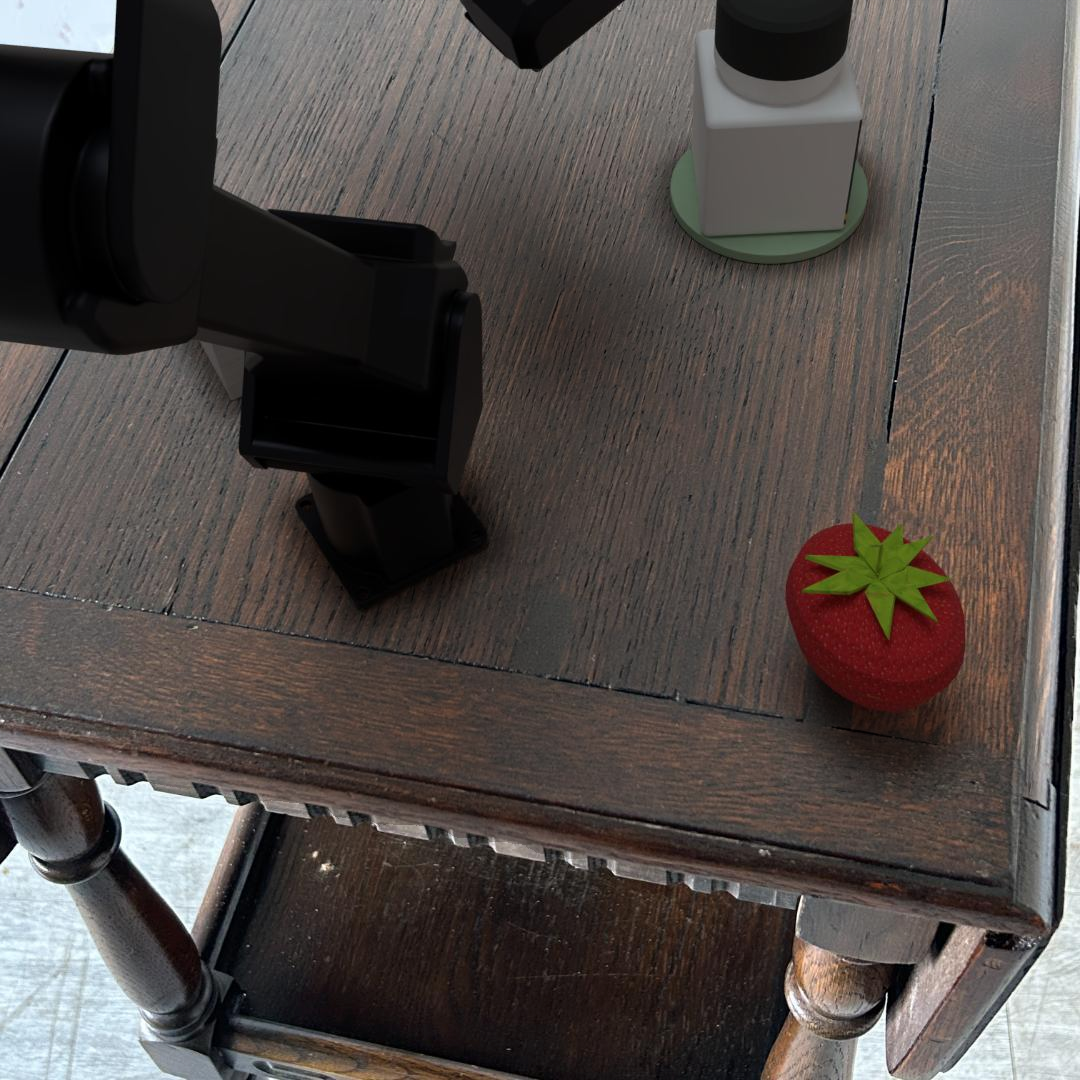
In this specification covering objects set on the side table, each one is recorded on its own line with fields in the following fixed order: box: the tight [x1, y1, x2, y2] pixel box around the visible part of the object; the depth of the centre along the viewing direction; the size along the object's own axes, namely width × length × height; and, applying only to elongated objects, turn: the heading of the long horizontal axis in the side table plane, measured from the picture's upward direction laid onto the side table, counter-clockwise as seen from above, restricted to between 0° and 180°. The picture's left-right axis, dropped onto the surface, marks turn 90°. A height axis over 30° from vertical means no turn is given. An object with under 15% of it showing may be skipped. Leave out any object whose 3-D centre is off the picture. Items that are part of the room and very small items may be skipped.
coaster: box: [669, 146, 869, 265], centre depth 72 cm, size 10×10×1 cm
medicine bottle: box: [690, 0, 864, 236], centre depth 67 cm, size 7×7×12 cm
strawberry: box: [785, 511, 966, 713], centre depth 52 cm, size 6×8×10 cm
